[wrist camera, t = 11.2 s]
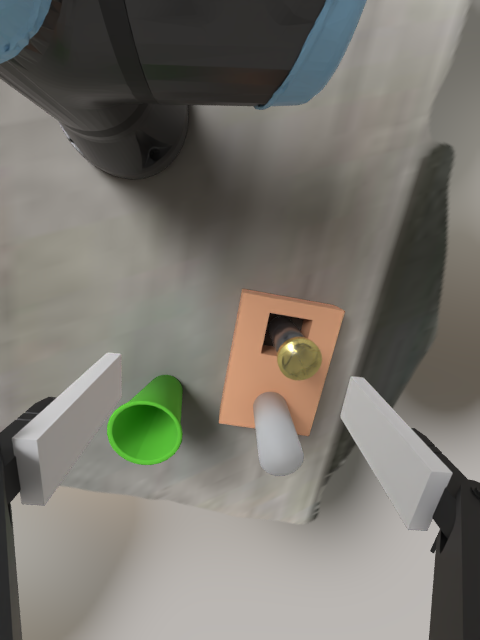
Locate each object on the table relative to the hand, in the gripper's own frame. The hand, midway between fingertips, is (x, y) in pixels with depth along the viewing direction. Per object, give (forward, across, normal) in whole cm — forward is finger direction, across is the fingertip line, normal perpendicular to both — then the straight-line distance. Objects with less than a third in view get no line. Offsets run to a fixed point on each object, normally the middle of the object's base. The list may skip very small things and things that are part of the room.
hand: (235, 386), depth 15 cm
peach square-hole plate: (+25, +7, -9) cm, 27 cm away
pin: (+25, +8, -4) cm, 26 cm away
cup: (+25, -9, -16) cm, 31 cm away
